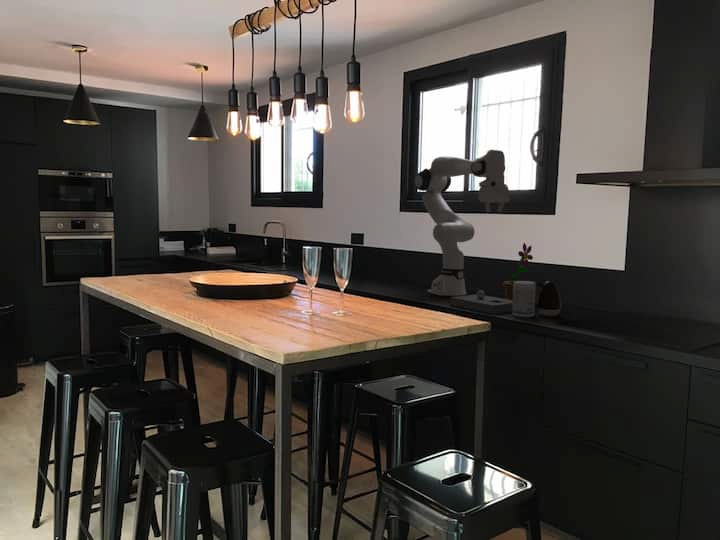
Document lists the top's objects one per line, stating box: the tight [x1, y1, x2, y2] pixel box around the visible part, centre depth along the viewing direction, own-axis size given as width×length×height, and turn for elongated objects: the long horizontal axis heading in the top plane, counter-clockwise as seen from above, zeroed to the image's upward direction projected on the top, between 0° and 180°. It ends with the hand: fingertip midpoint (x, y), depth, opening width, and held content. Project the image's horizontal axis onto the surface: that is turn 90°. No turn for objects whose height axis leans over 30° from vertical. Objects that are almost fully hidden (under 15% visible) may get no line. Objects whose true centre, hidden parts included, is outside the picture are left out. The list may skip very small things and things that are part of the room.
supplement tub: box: [511, 280, 537, 318], centre depth 255 cm, size 10×10×15 cm
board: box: [449, 294, 513, 315], centre depth 275 cm, size 28×18×4 cm, turn 33°
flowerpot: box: [502, 242, 534, 300], centre depth 287 cm, size 14×14×30 cm
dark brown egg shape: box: [536, 280, 562, 318], centre depth 255 cm, size 10×10×15 cm
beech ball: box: [475, 289, 486, 299], centre depth 277 cm, size 4×4×4 cm
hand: (494, 211), depth 287 cm, fingers open, 8 cm apart
